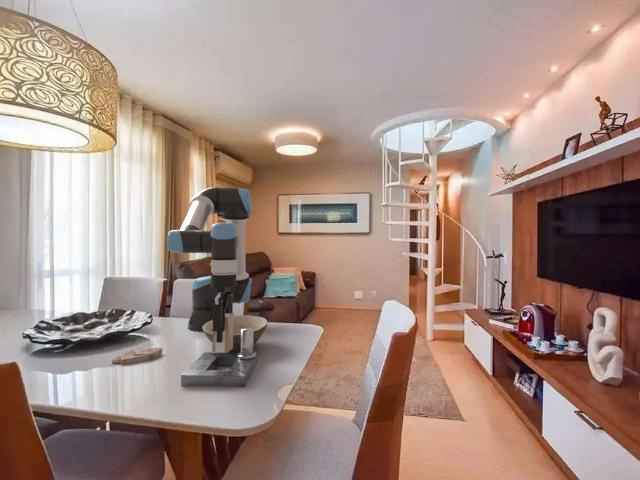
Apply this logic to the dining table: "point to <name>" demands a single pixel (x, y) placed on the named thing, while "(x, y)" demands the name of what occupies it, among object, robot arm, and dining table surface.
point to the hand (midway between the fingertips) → (223, 349)
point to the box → (226, 333)
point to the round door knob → (246, 344)
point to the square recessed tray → (207, 376)
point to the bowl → (240, 322)
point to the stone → (138, 355)
